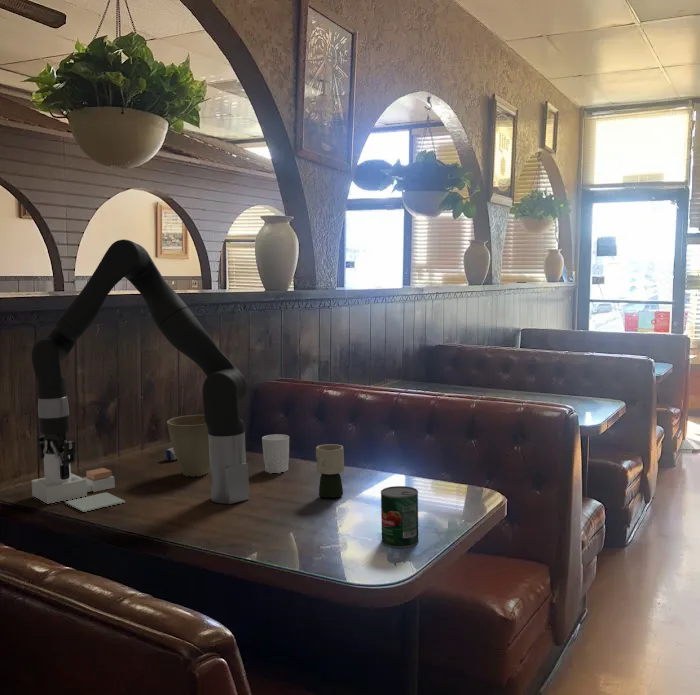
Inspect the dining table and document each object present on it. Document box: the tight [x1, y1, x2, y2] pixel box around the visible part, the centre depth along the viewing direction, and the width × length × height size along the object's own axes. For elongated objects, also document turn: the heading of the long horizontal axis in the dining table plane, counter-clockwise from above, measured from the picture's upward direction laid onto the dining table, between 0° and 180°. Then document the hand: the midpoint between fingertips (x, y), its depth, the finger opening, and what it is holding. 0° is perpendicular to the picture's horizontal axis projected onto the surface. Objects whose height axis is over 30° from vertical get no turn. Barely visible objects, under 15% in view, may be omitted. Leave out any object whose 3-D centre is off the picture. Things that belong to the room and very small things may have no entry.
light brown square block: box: [85, 467, 113, 480], centre depth 207 cm, size 5×5×4 cm
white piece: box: [31, 472, 116, 504], centre depth 202 cm, size 10×19×4 cm, turn 132°
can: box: [43, 451, 72, 486], centre depth 198 cm, size 6×6×12 cm
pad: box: [64, 492, 126, 513], centre depth 193 cm, size 11×11×1 cm
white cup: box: [261, 433, 290, 474], centre depth 220 cm, size 8×8×10 cm
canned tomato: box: [380, 485, 419, 549], centre depth 160 cm, size 8×8×11 cm
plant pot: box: [166, 414, 210, 478], centre depth 218 cm, size 15×15×16 cm
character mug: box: [315, 443, 345, 499], centre depth 193 cm, size 11×7×13 cm, turn 152°
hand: (58, 476), depth 198 cm, fingers closed on can, 6 cm apart
